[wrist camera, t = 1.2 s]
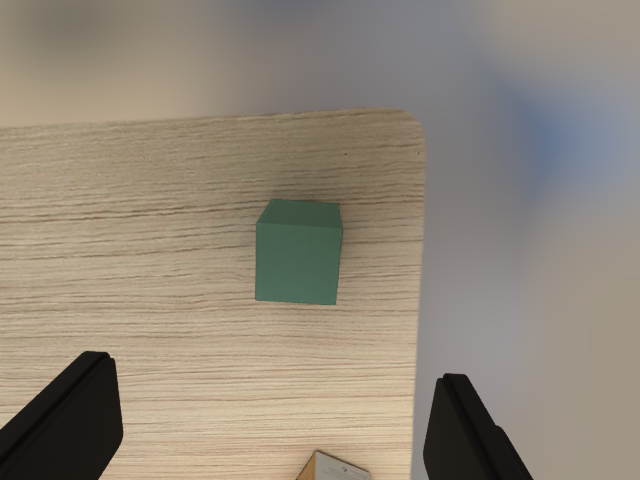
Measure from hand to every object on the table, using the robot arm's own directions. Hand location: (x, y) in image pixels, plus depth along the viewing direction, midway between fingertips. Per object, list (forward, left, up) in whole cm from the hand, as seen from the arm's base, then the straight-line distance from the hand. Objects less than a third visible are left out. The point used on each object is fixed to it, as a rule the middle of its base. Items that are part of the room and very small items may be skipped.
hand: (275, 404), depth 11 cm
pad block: (0, 0, -16) cm, 16 cm away
